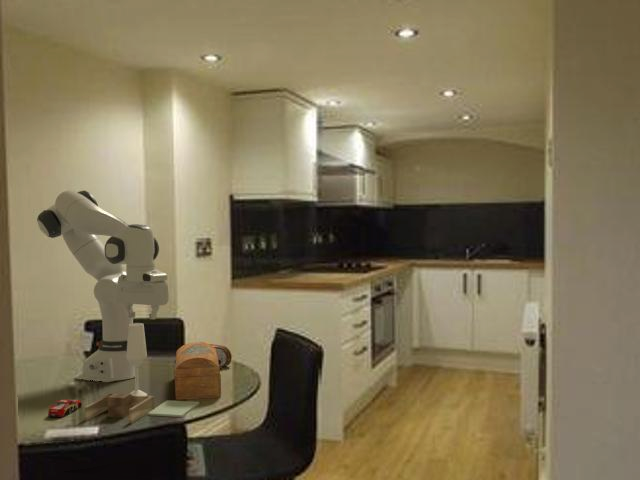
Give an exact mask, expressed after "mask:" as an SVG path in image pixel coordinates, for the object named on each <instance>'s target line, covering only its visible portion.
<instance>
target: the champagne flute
mask: <svg viewBox="0 0 640 480" xmlns="http://www.w3.org/2000/svg"><path fill="white" fill-rule="evenodd" d="M145 335H146V333H145V326H144V323H141V322H135V323H134V322H133V324H129V330H128V342H127V353H126V359H127V361H128V362H129V363H130V364H131V365H133V366H134V367H135V377H134V390H133V391H131V392H130V394H132V395H143V396H148V393H147V392H145V391H142V390H140V389H139V388H140V383H139V381H140V379H139V378H140V377H139V376H140V375H139V367H140V366H141V365H143V363H144V362H145V361H146V359H147V358H148V357H147V356H148V353H147V344H146V343H147V342H146V336H145Z"/></svg>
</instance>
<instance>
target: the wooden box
mask: <svg viewBox="0 0 640 480" xmlns="http://www.w3.org/2000/svg"><path fill="white" fill-rule="evenodd" d="M210 344H211V343H207V342H202V341H199V342H198V341H194V342H187V343H186V344H184V345H181V347H179V348H178V349H177V350H176V351H175V352H176V353H175V360H174V371H173V374H174V375H173V376H174V388H175V390H174V392H175V401H182V400H192V399H193V400H194V399H208V398H209V399H211V398H212V399H213V398H221V396H222V379H221V376H222V374H221V371H222V370H223V367H220V364H221V360H220V359H218V357H217V352H216V349H215V348H214V347H213V346H211V345H210Z"/></svg>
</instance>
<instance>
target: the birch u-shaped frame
mask: <svg viewBox="0 0 640 480" xmlns="http://www.w3.org/2000/svg"><path fill="white" fill-rule="evenodd" d="M113 394H114V393H108V394H107V395H105V396H103V397H101V398H99V399H97V400H95V401H94V402H92V403H91V402H90V403H89V404H88V405H86V406H84V421H86V422H88V421H90V420H91V419H94V418H95V417H97V416H99V415H100V414H102V413H104V412H105V411H108V397H109V396H111V395H113ZM153 409H155V396H154V395H146V396H143V395H132V408H131V409H129V415H128V424H134V423H135V422H137V421H138V420H139V419H142V417H144V416H145V415H148V413H149V412H150V411H152V410H153Z"/></svg>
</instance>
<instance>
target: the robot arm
mask: <svg viewBox="0 0 640 480" xmlns="http://www.w3.org/2000/svg"><path fill="white" fill-rule="evenodd" d="M54 202H55V203H54V204H53V205H52V206H50V207H48V208H47V209H46V210H45V209H44V210H43V211H41V213H39V215H37V218H36V220H37V221H36V222H37V224H38V227H39V229H40V231H41V232H42V233H43V234H44V235H45V236H47V237H48V238H51V239H55V238H57V237H58V238H59V237H60V236H61V237H62V238H63V240H64V242H65V244H66V246H67V248H68V250H69V251H70V253H71V254H72V256H73V257H74V258H75V259H76V260H77V262H78V264H79V265H80V266H81V268H82V269H83V270H84V271H85V272H86V273H87V274H88V275H89V276H91V277H93V278H94V279H95V280H96V281H97V282H96V284H95V285H94V286H93V287H94V288H93V295H94V298H95V300H96V301H97V302H98V306H99V310H100V314H101V321H102V323H101V324H102V325H101V326H102V339H101V340H99V341H97V342H96V346H98V349H97V350H96V351H94V353H92V354H91V355H89V356H88V357H87V358H86V359H85V360H84V362H83V364H82V370H81V372H79V373H77V374H76V375H75V379H76V380H82V379H83V380H84V381H90V380H91V381H92V380H93V381H92V382H99V381H102V382H101V383H110V382H114V381H115V382H116V381H123V380H125V381H126V380H129V379H133V378H135V367H134V366H133V365H131V364H130V363H129V362H128V361H127V359H126V353H127V342H128V330H129V324H134V318H135V317H136V311H134V309H133V306H134V305H140V306H141V305H144V306H150V309H152V310H151V312H150V313H148V316H149V317H148V319H149V320H156V319H157V314H158V311H159V309H160V306H166V305H167V304H168V303H169V299H170V297H169V285H168V283H167V282H166V281H167V280H168V274H167V273H165V272H164V271H163V272H162V271H161V270H159V269H157V268H156V264H155V260H156V259H157V257H158V255H159V254H160V253H159V252H160V246H159V242H158V240H157V239H156V237H154V233H153V229H152V228H151V227H150V226H149V225H145V224H138V223H137V224H135V223H133V224H130V223H127V222H126V221H125V220H122V219H121V218H119V217H117V216H115V215H114V214H112V213H110V212H108V211H106V210H104V209H103V208H101V207H100V206H99V205H98V201H97V199H96V198H95V196H94V195H92V194H91V193H90V192H89V191H87V190H80V191H75V190H74V191H73V190H66V191H65V190H64V191H62V192H61V193H59V194H58V196H57V197H56V198H55V201H54ZM99 236H108V237H109V238H108V239H107V240H106V242H105V244H104V243H103V242H102V240H101V239H100V238H99ZM124 265H126V267H125V266H124ZM83 380H82V381H83Z"/></svg>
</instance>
